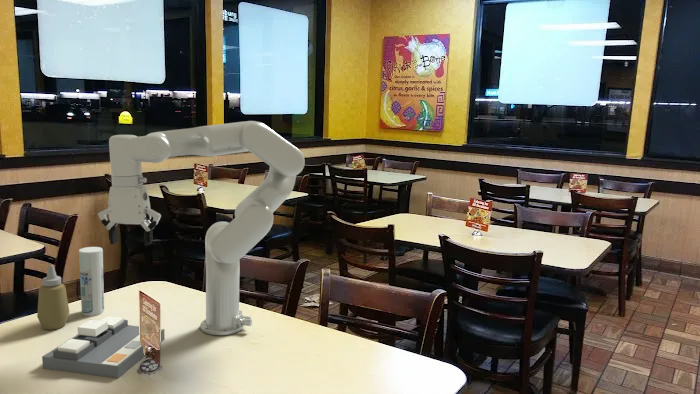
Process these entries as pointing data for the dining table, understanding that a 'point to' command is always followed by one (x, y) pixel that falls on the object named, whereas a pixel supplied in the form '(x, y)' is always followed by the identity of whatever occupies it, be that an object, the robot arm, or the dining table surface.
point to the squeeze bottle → (52, 302)
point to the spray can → (91, 280)
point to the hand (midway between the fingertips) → (131, 243)
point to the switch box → (101, 353)
